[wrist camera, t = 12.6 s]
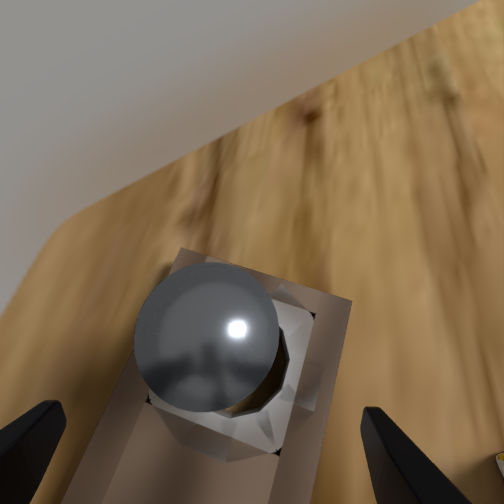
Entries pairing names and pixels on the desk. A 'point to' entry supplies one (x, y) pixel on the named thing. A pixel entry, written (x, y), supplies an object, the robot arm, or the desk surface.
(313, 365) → the bore block
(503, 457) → the medicine bottle
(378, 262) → the desk surface
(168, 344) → the steel peg
